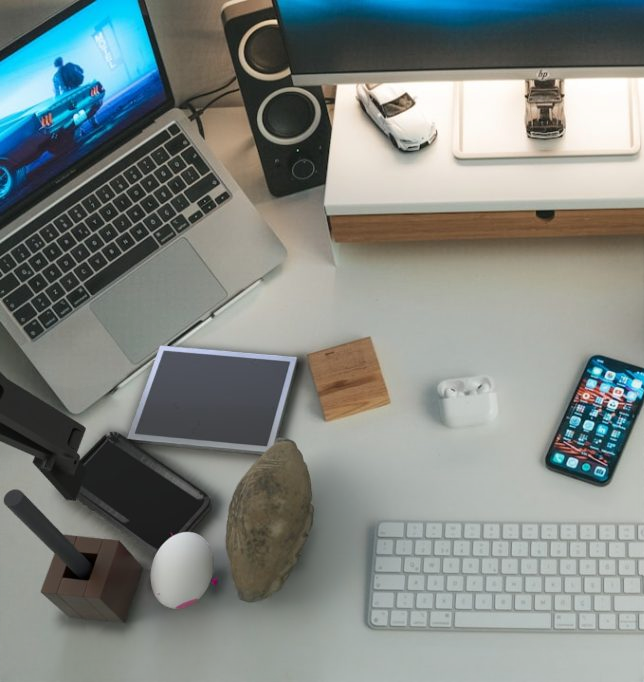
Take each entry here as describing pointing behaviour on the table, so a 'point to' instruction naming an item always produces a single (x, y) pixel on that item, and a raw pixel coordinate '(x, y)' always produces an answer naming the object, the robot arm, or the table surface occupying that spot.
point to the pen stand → (95, 581)
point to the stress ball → (182, 570)
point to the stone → (269, 521)
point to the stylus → (48, 533)
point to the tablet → (214, 400)
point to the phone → (139, 492)
